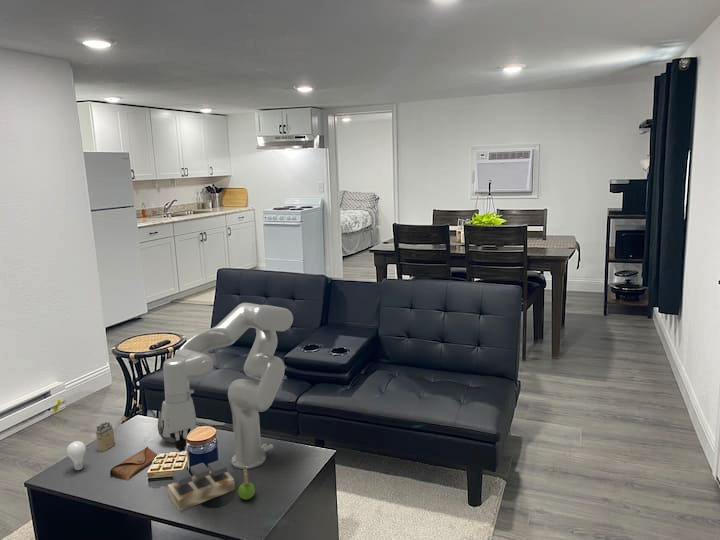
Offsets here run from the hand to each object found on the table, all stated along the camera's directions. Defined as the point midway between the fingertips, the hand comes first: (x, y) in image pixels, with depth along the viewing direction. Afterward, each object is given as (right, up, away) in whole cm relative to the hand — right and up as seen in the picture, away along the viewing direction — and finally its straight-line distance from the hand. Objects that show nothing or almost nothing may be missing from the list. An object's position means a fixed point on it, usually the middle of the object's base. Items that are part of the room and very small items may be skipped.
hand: (180, 449), depth 182 cm
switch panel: (+5, -17, +7) cm, 19 cm away
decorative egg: (-16, -11, +43) cm, 47 cm away
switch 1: (0, -12, +3) cm, 12 cm away
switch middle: (+5, -11, +6) cm, 14 cm away
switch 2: (+10, -12, +10) cm, 18 cm away
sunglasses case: (-24, -15, +25) cm, 38 cm away
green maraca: (+21, -17, +3) cm, 28 cm away
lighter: (-42, -12, +39) cm, 59 cm away
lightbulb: (-45, -15, +24) cm, 53 cm away
